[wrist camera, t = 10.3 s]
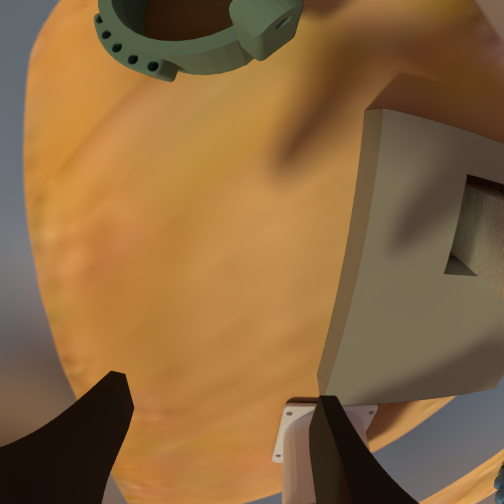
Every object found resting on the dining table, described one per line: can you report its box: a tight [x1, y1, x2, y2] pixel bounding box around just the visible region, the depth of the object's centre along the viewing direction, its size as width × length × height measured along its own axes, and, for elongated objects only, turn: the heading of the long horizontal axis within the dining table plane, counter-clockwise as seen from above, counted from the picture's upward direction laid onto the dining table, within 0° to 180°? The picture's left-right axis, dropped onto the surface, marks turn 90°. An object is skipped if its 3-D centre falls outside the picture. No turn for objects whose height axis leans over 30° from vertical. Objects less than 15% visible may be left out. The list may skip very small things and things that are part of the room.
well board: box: [317, 108, 504, 405], centre depth 17 cm, size 18×16×3 cm
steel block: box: [450, 183, 504, 300], centre depth 13 cm, size 4×4×8 cm
